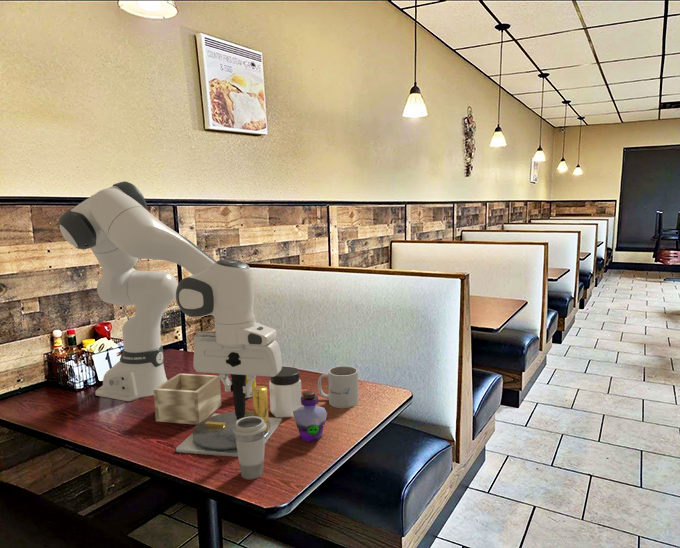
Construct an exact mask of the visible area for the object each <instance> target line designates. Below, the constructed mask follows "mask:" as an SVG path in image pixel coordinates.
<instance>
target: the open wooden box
mask: <svg viewBox="0 0 680 548" xmlns="http://www.w3.org/2000/svg"><path fill="white" fill-rule="evenodd" d="M221 389H222V388H221V379H220V378H219V375H216V374H215V375H211V374H198V373H197V374H195V373H177V374H176V375H174V376H173V377H171V378H169V379H167V381H166V382H165V383H163V384H162V385H160V386H158V387H157V388H155V389H154V395H153V401H154V413H155V422H160V423H173V424H174V423H175V424H183V425H184V424H188V425H195V426H197V425H198V424H199V423H200V422H202V421H203V420H205V419H207V418H210V417H211V416H212V415H213V414H214V413H215V412H216V411H217V410H218V409H219V408H221V406H222V390H221Z"/></svg>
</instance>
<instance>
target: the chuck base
mask: <svg viewBox="0 0 680 548" xmlns="http://www.w3.org/2000/svg"><path fill="white" fill-rule="evenodd" d="M219 414H220V413H216V412H213V413H212V414H211V415H210V417H212V416H215V415H219ZM282 421H283V417H269V422H270V431H269V433H268V434H267V435H266V436H265V444H266V443H267V442H268V440H269V438H270V437H271V436H272V435H273V433H274V432H275V431H276V429H277V428H278V427H279V426H280V424H281V423H282ZM175 449H176V450H175V452H176V453H184V454H197V455H198V454H199V455H210V456H222V457H223V456H224V457H225V456H226V457H235V458H238V453H237V449H229V450H214V449H208V448H204V447H201V446H199V445H198V444H196V443H195V442H194V440H193V432H192V433H191V434H189V436H188V437H186V438H185V440H183V441H182V442H181V443H180V444H179V445H177V447H175Z"/></svg>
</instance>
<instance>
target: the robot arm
mask: <svg viewBox="0 0 680 548" xmlns="http://www.w3.org/2000/svg"><path fill="white" fill-rule="evenodd" d="M89 196H90V197H88V198H86V199H85V200H83V201H81V202H80V203H79V204H77V205H76V206H74V207H73V208H72V209H70V210H67V211H66V212H64V213H63V214H61V216H60V217H59V219H58V227H59V230H60V233H61V235H62V237H63V238H64V240H65V241H67V243H69V244H70V245H71V246H73V247H75V248H76V249H78V250H83V251H84V250H87V249H90V250H91V251H92V253H93V255H94V256H95V258H96V260H97V262H98V263H99V264H100V267H101V269H102V275H101V277H100V278H99V279H98V280H97V281H98V282H97V284H96V291H97V295H98V297H99V298H100V300H101V301H103V302H104V303H107V304H110V305H111V304H112V305H115V306H134V307H135V314H134V316H132V317H130V318H129V319H127V320H126V322H124V324H123V325H122V329H121V331H122V340H123V349H122V350H120V351H118V352H116V353H115V354H116V357H120V359H119V361H118V362H117V363H115V364H114V365H113V366H112V367H111V368H110V369H108V370H107V371H106V372H105V373H104V375H103V379H102V385H101V386H100V387H98V388H97V389H96V390H95V392H94V393H95V396H98V397H103V398H108V399H112V400H113V399H114V400H119V401H124V402H131V401H136V400H139V398H145V397H150V396H154V389H155V388H157V387H158V386H160V385H162V384H163V383H165V382H166V381H168V378H167V375H166V371H165V367H164V349H163V348H164V347H163V346H164V345H162V341H161V338H162V337H161V324H162V323H161V321H162V317H163V315H164V313H165V311H166V309H167V308H168V306H170V305H171V304H172V303H173V302H174V301H176V303H177V306H178V308H179V310H180V311H181V312H182V313H183V314H184V315H186V316H188V317H191V318H202V317H205V316H209V315H210V316H213V317H214V330H215V331H203V330H202V331H198V332H197V333H195V335H194V336H193V346H194V349H193V360H192V361H193V368H194V370H195V371H196V373H209V374H218V376H219V378H220V382H221V383H222V384H223V386H224V392H225V393H233V388H232V381H231V380H230V378H229V376H230V375H231V374H238V375H247V379H249V381H248V383H247V384H245V385H244V386H243V393H247V394H250V393H251V392H252V383H253V382H254V380H255V378H257V377H270V376H271V377H274V376H276V375H277V374H278V373H279V372H280V371H281V369H282V367H283V360H282V352H281V348H280V344H279V343H278V342H277V340H275V339H276V338H277V333H278V332H277V330H276V329H275V328H273V327H269V326H267V325H264V324H261V323H259V322H258V321H256V316H255V312H254V304H255V303H254V302H255V288H254V287H255V286H254V285H255V284H254V279H253V273H252V270H251V268H250V266H249V264H248V263H246V262H245V261H243V260H238V259H237V260H236V259H228V258H227V259H226V258H225V259H219V260H216V259H215V258H213V256H211V255H209V254H208V253H207V252H206V251H204V250H203V249H202V248H200V247H199V246H197V244H195V243H194V242H192V241H191V240H190V239H188V238H186V237H185V236H183V235H182V234H180V233H179V232H177V231H175V230H174V229H172V228H171V227H169V226H168V225H166V224H165V223H164V222H162V221H161V220H159V219H158V218H157V217H156V216H155V215H153V214H152V213H151V212H149V210H147V201H146V199H145V197H144V195H143V193H142V191H141V190H140V189H139V188H137V186H135V184H133V183H131V182H128V181H125V180H124V181H120V182H117V183H114V184H113V185H112V186H110V187H107V188H103V189H101V190H98V191H97V192H96V193H94V194H92V195H89ZM140 259H142V260H143V259H144V260H159V261H165V262H170V263H174V264H176V265H179V266H180V267H182V268H183V269H185V270H186V271H187V272H188V273H190V274H191V275H188V276H186V277H183V278H182V279H181V280H180V281H179V283H178V281H177V279H176V277H175V276H174V275H173V274H172V273H169V272H165V271H160V270H139V269H138V270H137V269H135V268H134V267H135V266H136V265H137V263H138V262H139V260H140ZM231 352H235V353H238V354H239V356H240V358H239V360H241V364H239V365H237V366H235V367H232V366H231V365H230V364H227V363H226V360H227V359H229V357H228V355H229V354H230V353H231Z"/></svg>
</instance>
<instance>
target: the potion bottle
mask: <svg viewBox="0 0 680 548" xmlns="http://www.w3.org/2000/svg"><path fill="white" fill-rule="evenodd" d="M316 393H317V392H316V391H314V390H308V391H304V392H302V397H301V404H302V407H300V408H298V409H296V410H295V411H293V414H294V416H293V418H294V422H295V424H296V425H295V426H296V428H297V430H298V433H299V434H298V435H299V437H300V440H301V441H303V442H307V443H311V442H316V441H319V440H320V439H322V437H323V431H324V427H325V425H326V420H327V416H328V412H327V411H326V409H325V408H326V407H324V406H318V404H319V397H318V395H317V394H316Z"/></svg>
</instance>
